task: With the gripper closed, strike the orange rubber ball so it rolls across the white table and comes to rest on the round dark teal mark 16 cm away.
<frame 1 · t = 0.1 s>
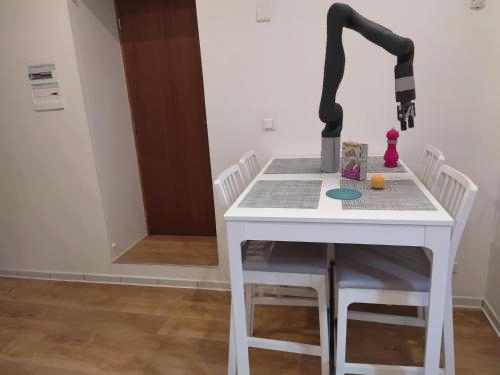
hand: (407, 129, 140), 22 cm above the table, tool pointing down, fingers open, 8 cm apart
candy bar box: (353, 178, 156), on the table
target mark: (343, 193, 134), on the table
pepper mill: (390, 166, 172), on the table
ball: (377, 181, 138), on the table
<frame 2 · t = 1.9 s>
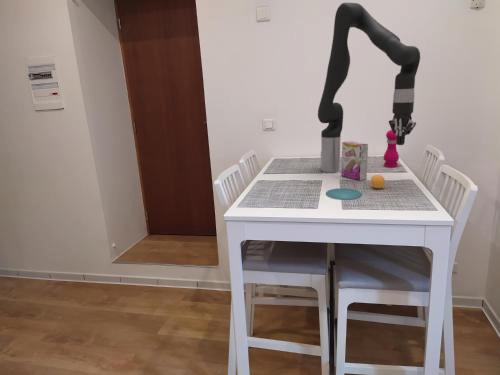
hand: (400, 144, 137), 17 cm above the table, tool pointing down, fingers closed
nothing on the table moved.
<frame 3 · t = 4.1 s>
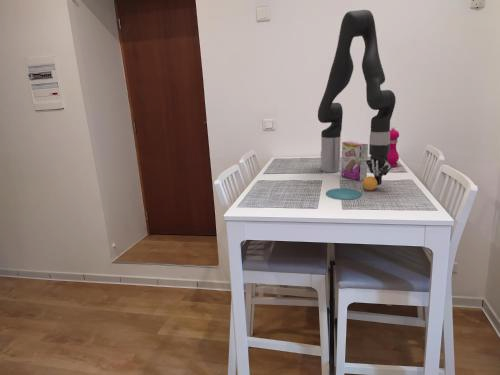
hand: (377, 184, 138), 2 cm above the table, tool pointing down, fingers closed
ball: (370, 183, 136), on the table, touching gripper
everything else where it was.
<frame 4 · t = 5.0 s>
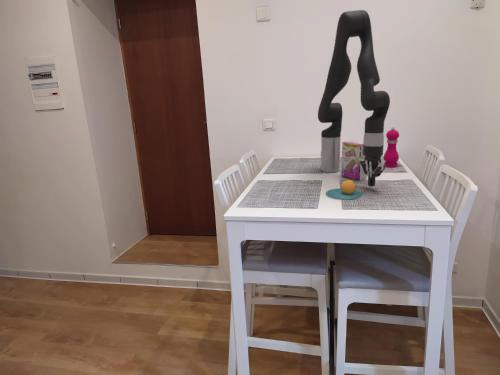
hand: (371, 185, 137), 2 cm above the table, tool pointing down, fingers closed
ball: (348, 187, 133), on the table
everything else where it was.
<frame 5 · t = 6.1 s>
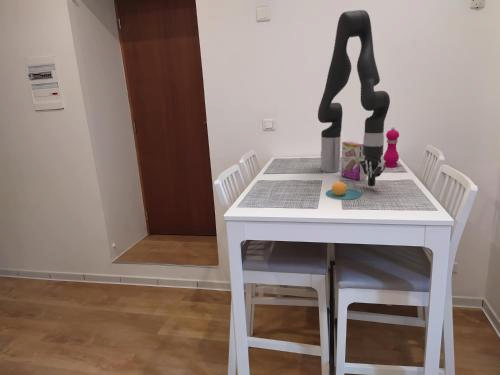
hand: (371, 185, 137), 2 cm above the table, tool pointing down, fingers closed
ball: (339, 188, 132), on the table
everything else where it was.
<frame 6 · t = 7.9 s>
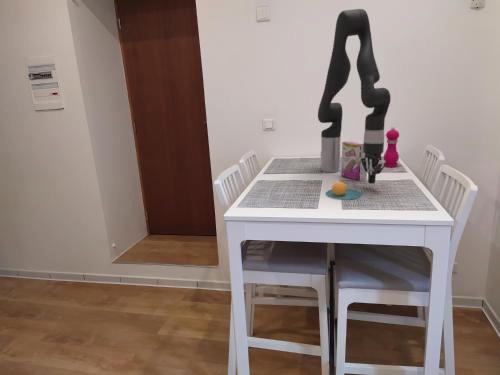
hand: (371, 183, 137), 3 cm above the table, tool pointing down, fingers closed
nothing on the table moved.
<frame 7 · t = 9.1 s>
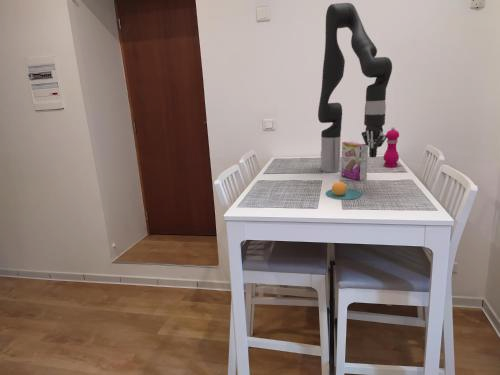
hand: (372, 156, 134), 13 cm above the table, tool pointing down, fingers closed
nothing on the table moved.
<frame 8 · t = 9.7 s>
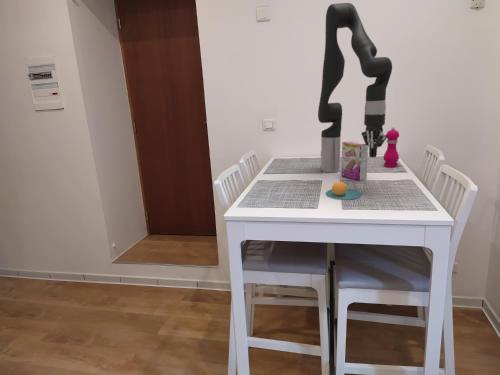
hand: (372, 156, 134), 13 cm above the table, tool pointing down, fingers closed
nothing on the table moved.
at the end: ball 2.7 cm from the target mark (horizontally); ball at rest at the end (0.0 cm/s); ball moved 18.6 cm from its start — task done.
